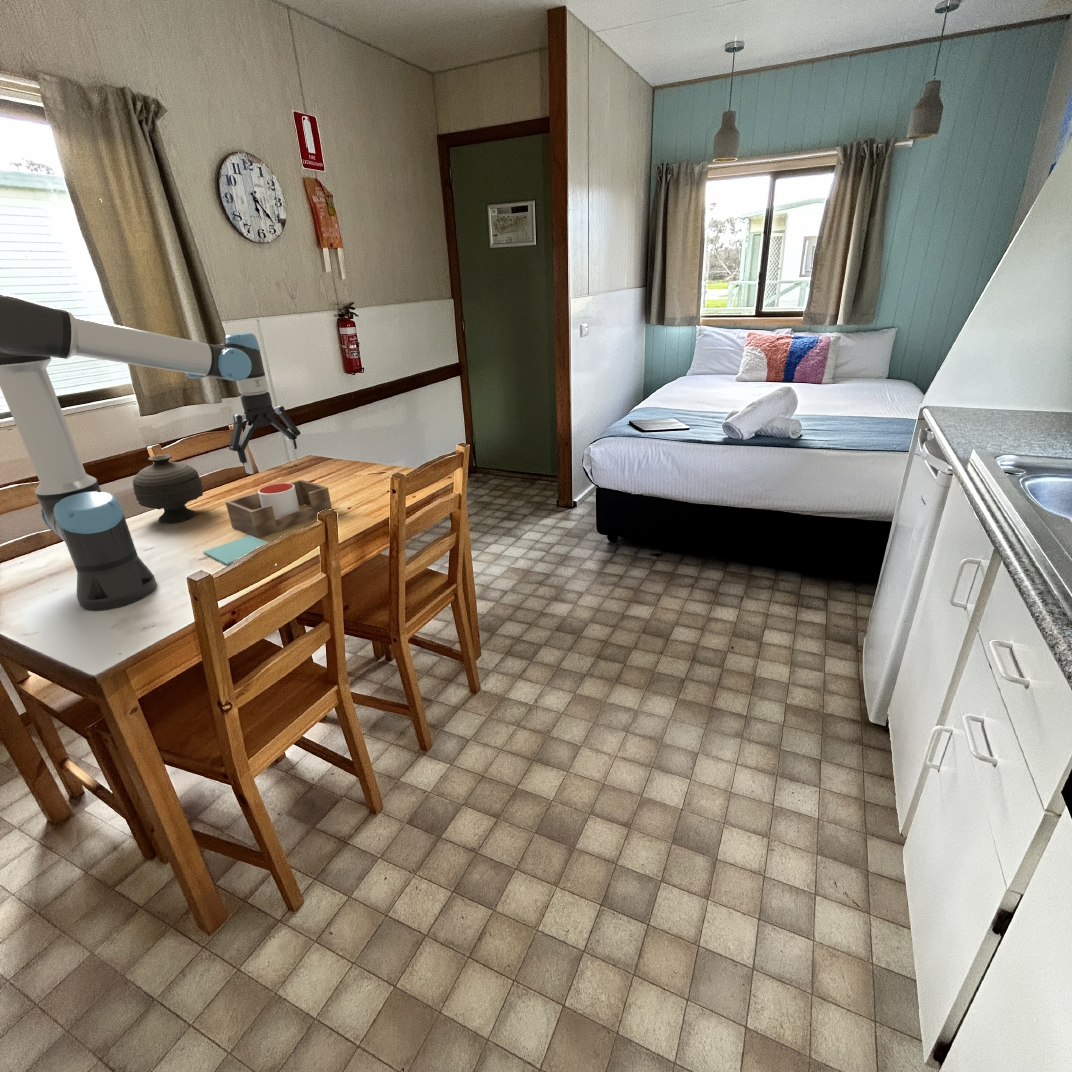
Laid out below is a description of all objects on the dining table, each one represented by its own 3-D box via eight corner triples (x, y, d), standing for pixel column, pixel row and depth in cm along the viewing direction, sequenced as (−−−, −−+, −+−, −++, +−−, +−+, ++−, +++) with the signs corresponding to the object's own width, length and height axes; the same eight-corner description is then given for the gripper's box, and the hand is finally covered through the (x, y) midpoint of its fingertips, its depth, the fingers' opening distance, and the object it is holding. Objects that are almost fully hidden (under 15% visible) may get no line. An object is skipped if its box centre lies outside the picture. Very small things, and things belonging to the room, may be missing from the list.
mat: (227, 565, 148) (226, 563, 147) (203, 553, 155) (203, 551, 155) (275, 547, 157) (274, 545, 157) (250, 536, 164) (250, 535, 164)
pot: (225, 508, 185) (201, 448, 176) (172, 533, 171) (144, 470, 162) (189, 502, 193) (166, 444, 184) (137, 526, 179) (108, 465, 170)
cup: (288, 526, 170) (281, 494, 166) (258, 525, 172) (250, 493, 168) (307, 514, 179) (301, 483, 175) (278, 513, 181) (271, 482, 177)
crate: (258, 538, 163) (251, 512, 160) (232, 527, 172) (225, 501, 168) (332, 512, 180) (327, 487, 177) (305, 503, 189) (300, 479, 186)
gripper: (215, 402, 150) (236, 480, 158) (302, 385, 167) (317, 457, 176) (202, 399, 154) (223, 476, 163) (288, 384, 172) (304, 454, 180)
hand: (272, 466), depth 169 cm, fingers open, 13 cm apart
